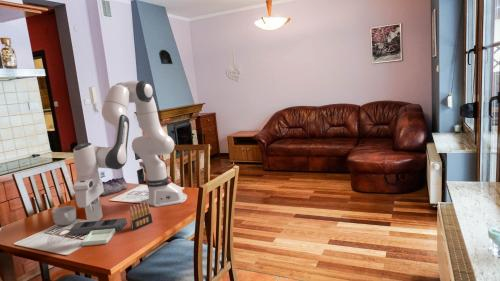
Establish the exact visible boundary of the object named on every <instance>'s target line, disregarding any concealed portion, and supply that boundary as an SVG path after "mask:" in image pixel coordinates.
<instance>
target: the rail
mask: <svg viewBox="0 0 500 281" xmlns="http://www.w3.org/2000/svg"><path fill="white" fill-rule="evenodd" d="M127 224H128V222H127V217H122V218H109V219H100V220H99V221H90V222H87V220H86V221H77V222H75V224H74V225H73V226H72V227H71V228H69V232H70V236H77V235H76V234H80V235H88V234H87V233H90V232H91V231H94V230H105V229H115V232H119V231H120V232H121V231H123V229H124V228H125V227H126V225H127Z"/></svg>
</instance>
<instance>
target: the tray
mask: <svg viewBox="0 0 500 281" xmlns="http://www.w3.org/2000/svg"><path fill="white" fill-rule="evenodd" d="M115 234H116V231H115V229H105V230H94V231H91V232H90V233H89V234H86V236H85V237H84V238H83V239H82V241H81V243H80V244H81V247H86V246H98V245H108V243H109V242H110V241H111V239H112V238H113V236H115Z"/></svg>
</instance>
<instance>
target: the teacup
mask: <svg viewBox="0 0 500 281" xmlns="http://www.w3.org/2000/svg"><path fill="white" fill-rule="evenodd" d="M76 208H77V207H76V206H74V205H66V206H60V207H57V208H55V209H53V210H52V211H51V214H52V219H53V222H54V223H55V224H56V225H58V226H59V227H61V226H62V227H63V226H68V225H72V224H73V223H74V221H76V219H77V209H76Z"/></svg>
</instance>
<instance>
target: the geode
mask: <svg viewBox="0 0 500 281" xmlns="http://www.w3.org/2000/svg"><path fill="white" fill-rule="evenodd" d="M102 183H103V188H104V192H103V193H102V194H101V195H100V196H101V197H104V196H107V195H110V194H111V195H112V194H115V193H120V192H121V191H123V190H127V189H128V186H127V181H126V179H125V178H124V177H123V176H121V177H119V178H118V177H116V178H111V179H109V180H107V181H102Z"/></svg>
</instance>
